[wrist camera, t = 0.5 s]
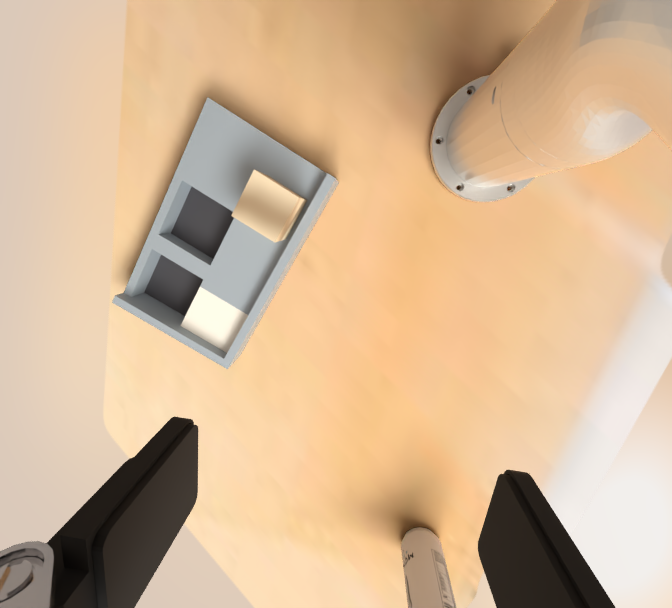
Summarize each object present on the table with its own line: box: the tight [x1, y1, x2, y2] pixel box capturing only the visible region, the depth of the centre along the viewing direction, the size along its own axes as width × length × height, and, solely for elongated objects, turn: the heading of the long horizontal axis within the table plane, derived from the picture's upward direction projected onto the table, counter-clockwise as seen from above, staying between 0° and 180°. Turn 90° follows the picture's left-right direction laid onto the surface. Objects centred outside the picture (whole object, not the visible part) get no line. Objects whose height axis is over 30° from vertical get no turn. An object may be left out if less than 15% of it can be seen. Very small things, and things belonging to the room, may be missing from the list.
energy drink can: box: [401, 527, 456, 608], centre depth 44 cm, size 6×6×15 cm
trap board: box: [112, 97, 339, 369], centre depth 39 cm, size 26×16×4 cm, turn 149°
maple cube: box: [231, 170, 307, 242], centre depth 35 cm, size 5×5×5 cm
